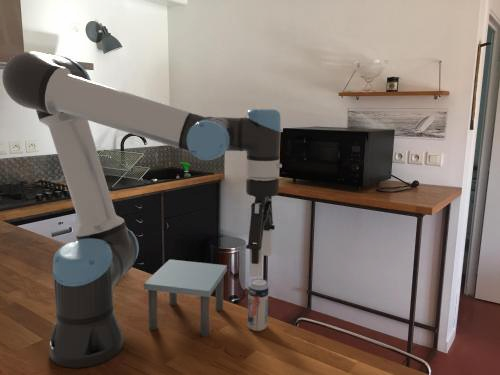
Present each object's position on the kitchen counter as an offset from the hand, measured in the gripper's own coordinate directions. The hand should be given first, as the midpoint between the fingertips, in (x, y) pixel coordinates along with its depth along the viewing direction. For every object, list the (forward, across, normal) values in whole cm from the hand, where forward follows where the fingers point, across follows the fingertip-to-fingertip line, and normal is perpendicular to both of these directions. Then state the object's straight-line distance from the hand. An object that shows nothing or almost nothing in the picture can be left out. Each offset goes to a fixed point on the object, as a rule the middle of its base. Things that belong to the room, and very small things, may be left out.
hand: (260, 264), depth 103 cm
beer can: (+16, 0, 0) cm, 17 cm away
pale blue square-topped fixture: (+16, 0, +18) cm, 25 cm away
